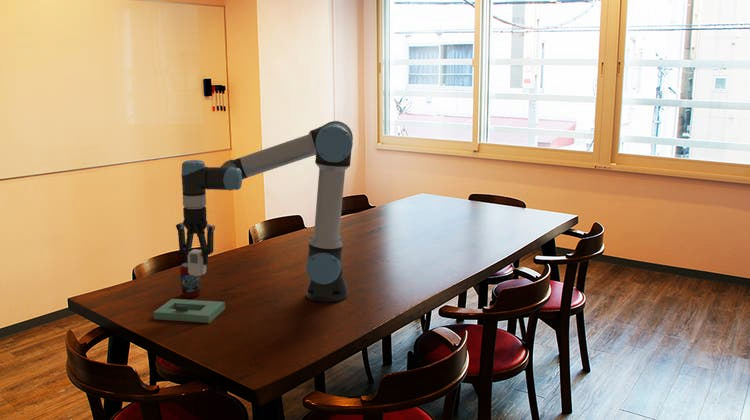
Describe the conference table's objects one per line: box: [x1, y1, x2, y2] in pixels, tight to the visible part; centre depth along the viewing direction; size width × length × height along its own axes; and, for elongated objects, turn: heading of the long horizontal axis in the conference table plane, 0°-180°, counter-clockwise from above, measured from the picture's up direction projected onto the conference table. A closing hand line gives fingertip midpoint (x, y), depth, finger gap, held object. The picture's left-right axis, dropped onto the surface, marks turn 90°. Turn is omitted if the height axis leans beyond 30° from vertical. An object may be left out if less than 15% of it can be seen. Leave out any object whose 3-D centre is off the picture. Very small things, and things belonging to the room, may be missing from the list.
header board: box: [153, 298, 226, 324], centre depth 235 cm, size 20×13×4 cm, turn 79°
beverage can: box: [179, 262, 202, 298], centre depth 252 cm, size 7×7×12 cm
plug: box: [189, 248, 202, 277], centre depth 234 cm, size 4×4×8 cm
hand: (197, 272), depth 235 cm, fingers closed on plug, 4 cm apart
